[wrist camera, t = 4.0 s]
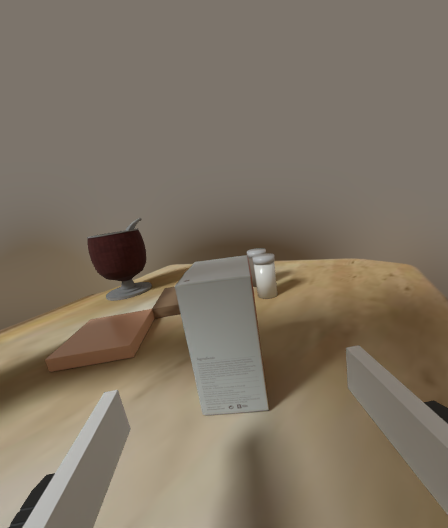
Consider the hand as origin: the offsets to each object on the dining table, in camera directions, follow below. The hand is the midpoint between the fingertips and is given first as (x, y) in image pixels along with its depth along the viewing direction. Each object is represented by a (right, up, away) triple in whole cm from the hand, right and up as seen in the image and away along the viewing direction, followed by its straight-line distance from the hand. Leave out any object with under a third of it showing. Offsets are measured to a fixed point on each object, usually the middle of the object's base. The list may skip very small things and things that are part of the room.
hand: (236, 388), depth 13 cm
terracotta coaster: (-20, -6, +25) cm, 32 cm away
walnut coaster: (-9, -1, +37) cm, 38 cm away
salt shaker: (+8, +1, +33) cm, 34 cm away
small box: (+1, -6, +11) cm, 13 cm away
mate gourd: (-27, -1, +52) cm, 59 cm away
